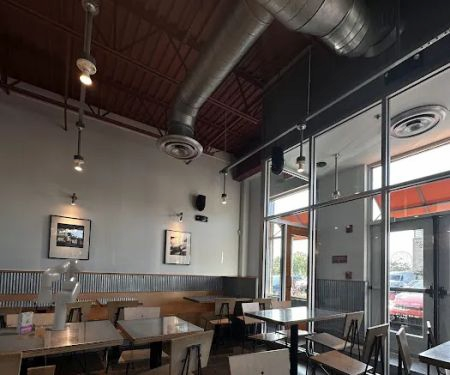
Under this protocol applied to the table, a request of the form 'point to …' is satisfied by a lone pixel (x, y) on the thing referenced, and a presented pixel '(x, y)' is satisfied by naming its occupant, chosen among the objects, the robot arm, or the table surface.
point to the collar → (39, 331)
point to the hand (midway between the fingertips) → (43, 310)
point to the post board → (31, 335)
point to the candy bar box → (24, 322)
